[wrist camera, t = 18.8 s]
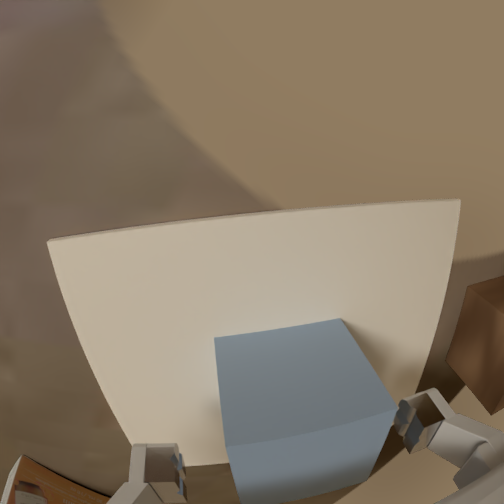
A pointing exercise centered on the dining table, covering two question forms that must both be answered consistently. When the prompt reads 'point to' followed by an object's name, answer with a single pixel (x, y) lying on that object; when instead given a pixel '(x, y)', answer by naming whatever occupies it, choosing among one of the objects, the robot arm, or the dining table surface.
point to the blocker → (481, 343)
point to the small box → (44, 487)
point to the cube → (299, 411)
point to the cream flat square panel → (249, 302)
